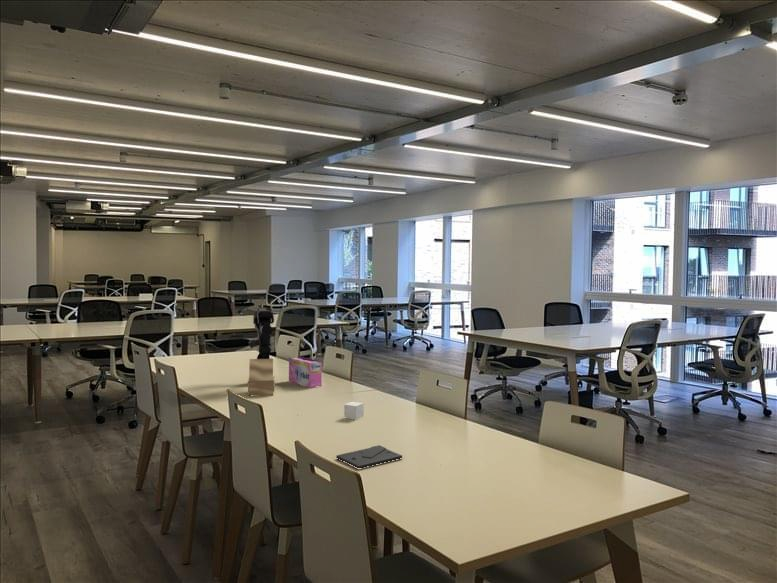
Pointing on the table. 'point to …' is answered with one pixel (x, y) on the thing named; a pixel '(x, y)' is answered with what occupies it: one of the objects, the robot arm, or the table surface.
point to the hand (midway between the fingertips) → (265, 363)
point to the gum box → (305, 371)
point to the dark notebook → (369, 456)
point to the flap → (261, 370)
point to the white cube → (354, 410)
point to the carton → (261, 387)
